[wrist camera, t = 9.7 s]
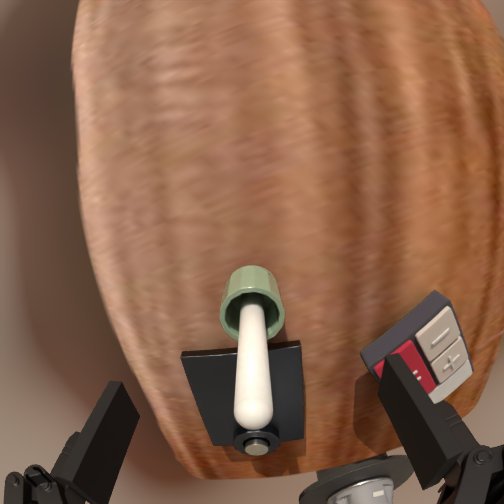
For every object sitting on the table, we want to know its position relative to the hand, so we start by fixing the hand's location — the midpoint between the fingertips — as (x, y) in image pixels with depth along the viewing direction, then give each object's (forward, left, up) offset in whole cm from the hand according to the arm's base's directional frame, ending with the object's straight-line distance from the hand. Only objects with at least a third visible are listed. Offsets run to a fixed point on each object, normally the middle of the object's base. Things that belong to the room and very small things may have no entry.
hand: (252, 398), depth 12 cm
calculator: (-12, -19, -14) cm, 26 cm away
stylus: (0, 0, -13) cm, 13 cm away
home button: (-20, +2, -12) cm, 23 cm away
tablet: (-14, +2, -14) cm, 20 cm away
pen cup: (0, 0, -14) cm, 14 cm away
